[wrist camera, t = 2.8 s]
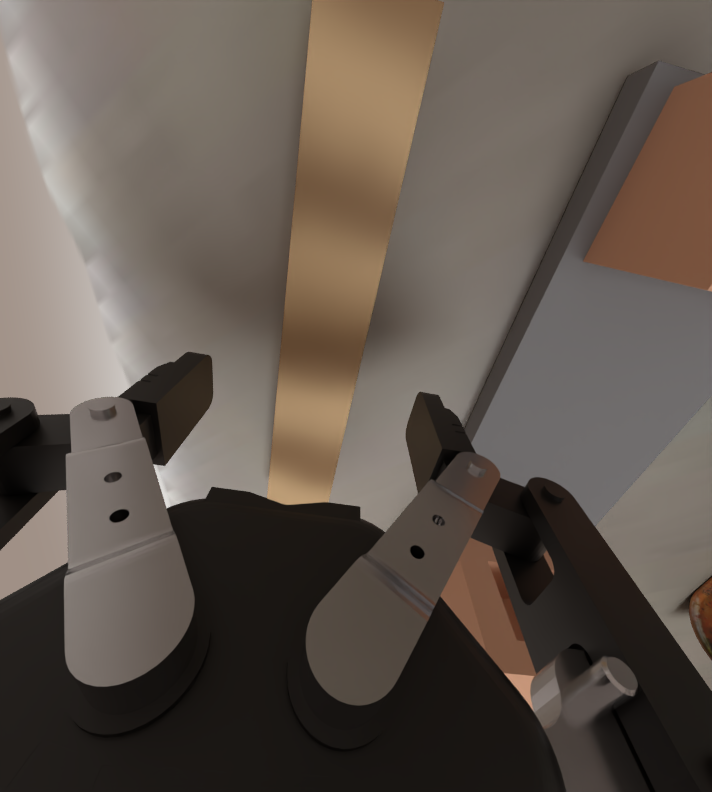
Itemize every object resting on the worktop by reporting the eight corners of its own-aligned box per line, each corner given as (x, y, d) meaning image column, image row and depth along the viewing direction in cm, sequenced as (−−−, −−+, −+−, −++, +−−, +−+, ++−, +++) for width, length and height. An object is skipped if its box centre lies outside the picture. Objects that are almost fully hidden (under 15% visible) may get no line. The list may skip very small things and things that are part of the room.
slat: (324, 15, 12) (315, -38, 9) (426, 45, 12) (444, 2, 10) (276, 474, 24) (266, 506, 21) (328, 482, 24) (325, 514, 22)
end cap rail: (627, 76, 12) (1343, -281, 3) (880, 151, 14) (1917, 35, 5) (407, 551, 28) (431, 715, 19) (534, 568, 29) (614, 731, 20)
